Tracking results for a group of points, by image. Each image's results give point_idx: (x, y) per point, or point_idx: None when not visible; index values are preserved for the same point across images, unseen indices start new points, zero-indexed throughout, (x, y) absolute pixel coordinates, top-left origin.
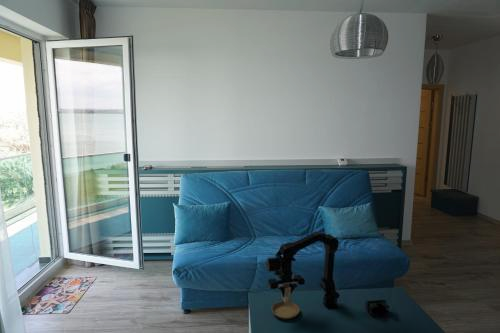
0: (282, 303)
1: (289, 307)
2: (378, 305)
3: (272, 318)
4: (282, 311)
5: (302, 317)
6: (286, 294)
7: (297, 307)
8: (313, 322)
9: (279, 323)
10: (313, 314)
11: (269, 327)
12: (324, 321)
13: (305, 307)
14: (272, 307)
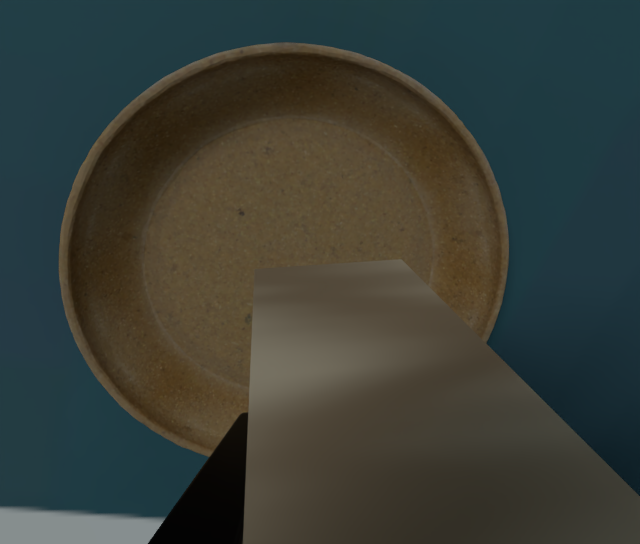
0: (311, 76)
1: (393, 162)
2: None
3: None
4: (260, 234)
5: None
6: None
7: (488, 263)
8: None
9: (158, 447)
10: (596, 356)
11: (21, 495)
12: (620, 469)
13: (597, 204)
14: (88, 190)
